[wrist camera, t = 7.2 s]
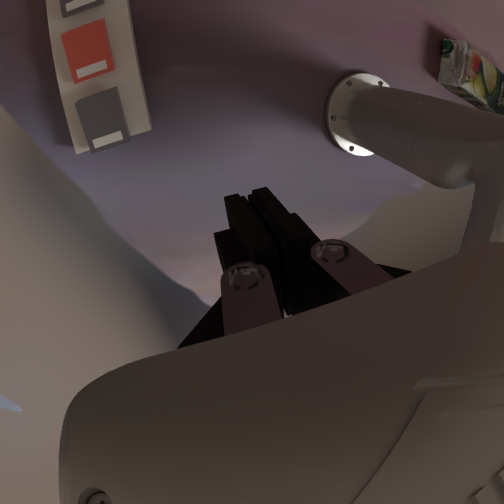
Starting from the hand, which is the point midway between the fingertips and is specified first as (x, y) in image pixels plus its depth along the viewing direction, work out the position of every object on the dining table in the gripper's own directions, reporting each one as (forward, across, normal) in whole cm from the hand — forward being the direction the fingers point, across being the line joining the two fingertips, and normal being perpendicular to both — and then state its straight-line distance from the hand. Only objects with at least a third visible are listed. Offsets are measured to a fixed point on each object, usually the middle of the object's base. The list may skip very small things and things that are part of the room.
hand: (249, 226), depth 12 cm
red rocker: (+22, +9, -12) cm, 27 cm away
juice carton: (+28, -51, -5) cm, 58 cm away
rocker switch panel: (+27, +9, -12) cm, 31 cm away
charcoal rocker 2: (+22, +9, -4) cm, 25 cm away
